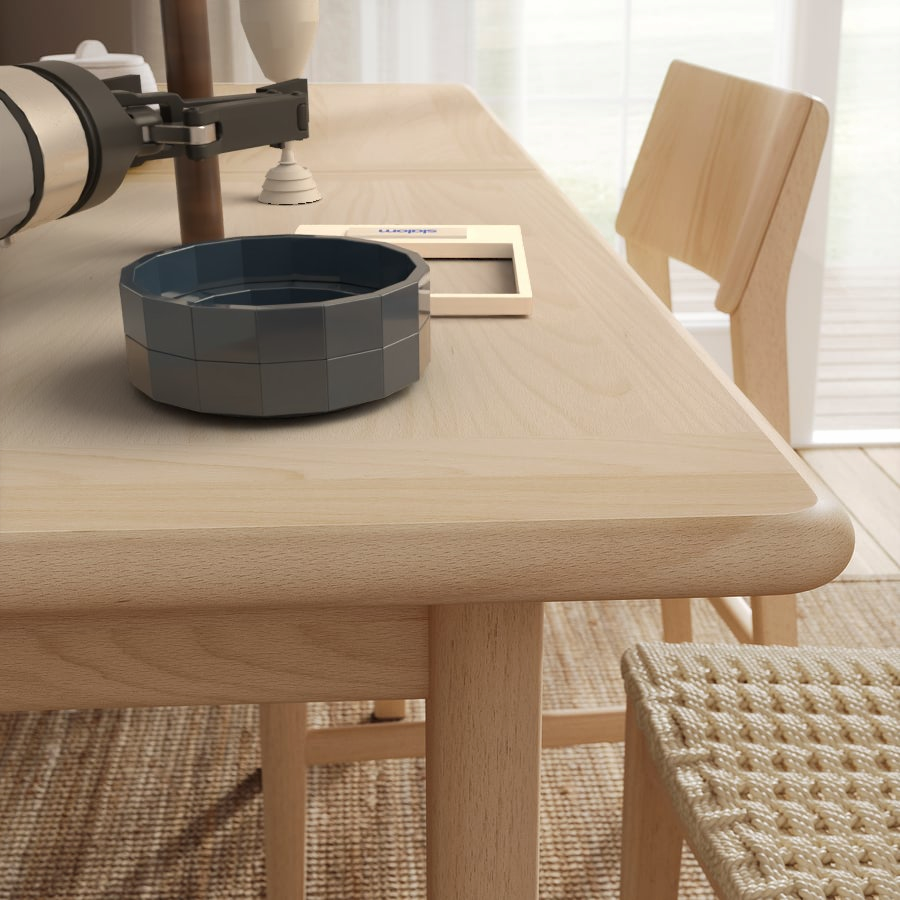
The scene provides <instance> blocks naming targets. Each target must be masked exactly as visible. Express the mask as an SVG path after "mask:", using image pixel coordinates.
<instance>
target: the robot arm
mask: <svg viewBox="0 0 900 900" xmlns="http://www.w3.org/2000/svg"><path fill="white" fill-rule="evenodd" d="M308 86H309V85H308V78H302V77H300V78H296V79H292V80H288V81H284V82H280V83H276V82H275V83H271V84H268V85H264V86H261V87H257V88H255V92H250V93H239V94H228V95H227V94H226V95H216V96H215V95H214V97H202V98H191V99H182V98H181V97H180V96H179V95H178V94H176V93H170V92H167V91H164V90H163V91H162V90H160V91H149V92H143V91H142V80H141V74H134V73H133V74H125V75H119V76H114V77H107V78H103V79H100V78H99V77H98V76H96V75H95V74H94V73H92V72H90V71H89V70H88V69H86V68H85V67H83V66H80V65H78V64H75V63H72V62H69V61H64V60H56V59H52V60H51V59H49V60H48V59H47V60H40V61H33V62H26V63H25V62H24V63H19V64H13V65H12V64H11V65H0V248H1V249H3V248H4V249H9V248H10V247H12V246H13V245H15V235H18V234H20V233H22V232H25V231H28V230H30V229H34V228H37V227H39V226H42V225H45V224H47V223H50V222H53V221H57V220H61V219H64V218H65V219H66V218H68V217H70V216H73V215H76V214H79V213H81V212H84V211H86V210H90V209H92V208H95V207H97V206H99V205H102V204H103V203H105V202H106V201H108V200H109V199H110V198H111V197H112V196H114V195H115V193H116V192H117V191H118V190H119V188H120V187H121V185H122V184H123V182H124V180H125V178H126V176H127V174H128V172H129V170H130V168H138V167H141V166H142V165H143V164H145V162H148V161H149V162H150V161H155V160H156V161H158V160H165V159H166V160H167V159H174V158H175V157H180V156H183V155H184V154H185V151H186V158H187V159H189V160H193V161H203V159H207V158H210V157H213V156H216V155H218V156H219V155H222V154H227V153H232V152H238V151H244V150H249V149H254V148H260V147H265V146H269V148H273V149H279V150H282V149H284V148H285V142H288V141H294V142H295V141H299V142H301V141H304V140H305V139H310V127H309V125H310V124H309V123H310V108H309V107H310V105H309V104H310V103H309V87H308ZM150 105H158V107H159V113H158V112H157V111H156V110H155V109H154V108H152V107H150Z"/></svg>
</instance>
